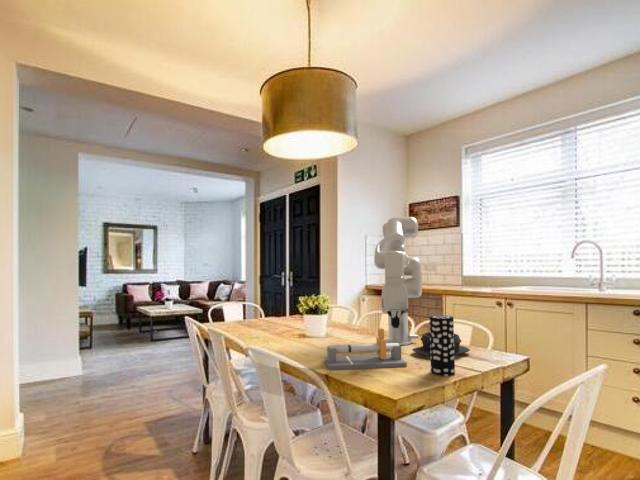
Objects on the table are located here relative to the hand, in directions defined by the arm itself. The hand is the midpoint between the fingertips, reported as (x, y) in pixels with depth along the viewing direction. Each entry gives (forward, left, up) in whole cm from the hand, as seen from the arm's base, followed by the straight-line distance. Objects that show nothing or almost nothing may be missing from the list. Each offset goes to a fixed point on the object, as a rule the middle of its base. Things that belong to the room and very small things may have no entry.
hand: (395, 327), depth 157 cm
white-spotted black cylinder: (-12, +16, -14) cm, 25 cm away
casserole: (-23, -11, -14) cm, 29 cm away
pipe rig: (+13, -1, -14) cm, 19 cm away
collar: (+6, -1, -11) cm, 13 cm away
